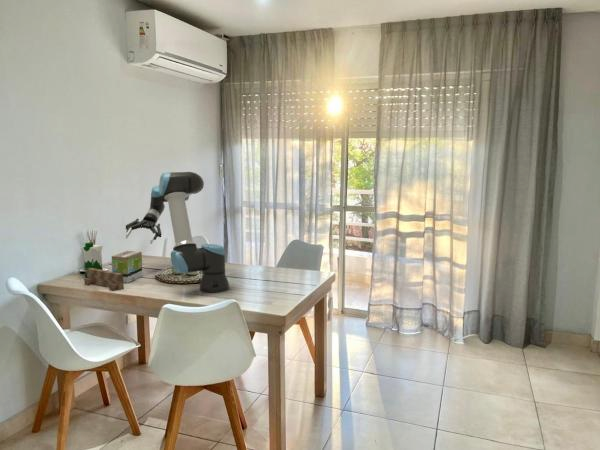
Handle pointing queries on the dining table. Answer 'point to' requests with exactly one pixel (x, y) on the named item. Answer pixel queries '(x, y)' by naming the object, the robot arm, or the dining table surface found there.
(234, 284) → the dining table surface
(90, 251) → the milk carton
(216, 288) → the robot arm
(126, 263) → the tea box
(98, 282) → the brown bumpy block
